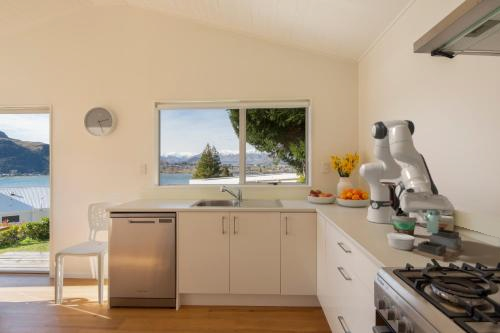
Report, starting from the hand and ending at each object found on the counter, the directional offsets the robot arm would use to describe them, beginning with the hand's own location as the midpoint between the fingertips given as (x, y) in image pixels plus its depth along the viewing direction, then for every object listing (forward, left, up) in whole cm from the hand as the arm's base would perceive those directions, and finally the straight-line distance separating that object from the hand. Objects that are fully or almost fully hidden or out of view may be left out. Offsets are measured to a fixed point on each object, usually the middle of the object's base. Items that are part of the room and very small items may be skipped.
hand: (433, 220), depth 107 cm
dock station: (-8, 0, -15) cm, 17 cm away
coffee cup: (-29, -6, -15) cm, 33 cm away
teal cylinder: (0, 0, -5) cm, 5 cm away
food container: (-23, -21, -15) cm, 35 cm away
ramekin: (0, -13, -15) cm, 20 cm away
